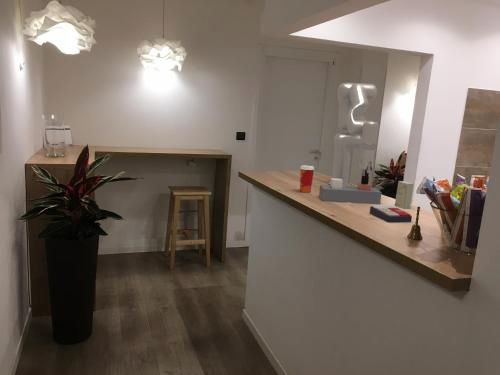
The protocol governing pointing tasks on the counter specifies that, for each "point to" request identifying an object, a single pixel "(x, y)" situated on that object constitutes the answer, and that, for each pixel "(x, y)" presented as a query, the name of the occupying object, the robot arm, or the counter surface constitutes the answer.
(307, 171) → the paper cup
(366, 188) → the red plug
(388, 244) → the counter surface
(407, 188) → the skincare box
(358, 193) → the plug block
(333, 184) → the grey plug
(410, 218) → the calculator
